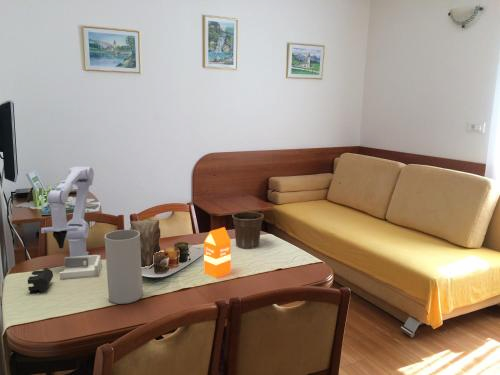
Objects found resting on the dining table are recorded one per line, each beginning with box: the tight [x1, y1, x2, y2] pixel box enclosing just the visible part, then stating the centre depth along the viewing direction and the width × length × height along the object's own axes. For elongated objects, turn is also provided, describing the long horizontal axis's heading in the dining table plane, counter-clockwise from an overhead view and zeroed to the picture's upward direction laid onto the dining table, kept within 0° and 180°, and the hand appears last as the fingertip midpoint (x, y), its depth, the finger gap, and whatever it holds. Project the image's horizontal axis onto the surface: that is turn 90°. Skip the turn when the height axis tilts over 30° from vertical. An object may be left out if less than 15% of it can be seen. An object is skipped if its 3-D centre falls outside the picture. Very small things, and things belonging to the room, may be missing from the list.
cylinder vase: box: [104, 229, 144, 305], centre depth 157 cm, size 12×12×25 cm
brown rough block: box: [129, 218, 161, 267], centre depth 191 cm, size 13×13×20 cm
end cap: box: [27, 267, 54, 295], centre depth 165 cm, size 10×7×7 cm
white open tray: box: [59, 254, 102, 281], centre depth 181 cm, size 13×15×5 cm
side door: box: [64, 257, 88, 267], centre depth 184 cm, size 10×2×4 cm, turn 95°
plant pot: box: [231, 211, 264, 250], centre depth 216 cm, size 16×16×16 cm
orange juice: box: [203, 226, 232, 279], centre depth 180 cm, size 8×9×20 cm
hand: (61, 247), depth 182 cm, fingers closed
